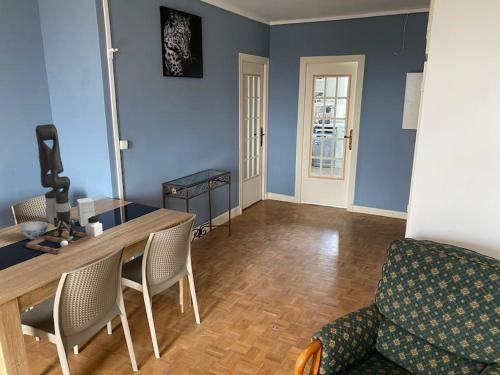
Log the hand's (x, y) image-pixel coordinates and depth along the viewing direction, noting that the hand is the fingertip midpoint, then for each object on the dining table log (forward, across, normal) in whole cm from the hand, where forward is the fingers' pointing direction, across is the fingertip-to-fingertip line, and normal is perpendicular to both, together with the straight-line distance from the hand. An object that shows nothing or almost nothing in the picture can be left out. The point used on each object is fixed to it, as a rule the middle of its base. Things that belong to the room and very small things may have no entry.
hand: (65, 234), depth 229 cm
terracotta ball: (+2, 0, 0) cm, 2 cm away
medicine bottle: (+3, +11, +12) cm, 16 cm away
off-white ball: (+2, +10, -10) cm, 14 cm away
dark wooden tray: (+2, +2, -6) cm, 7 cm away
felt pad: (+2, 0, 0) cm, 2 cm away
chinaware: (+3, -18, -6) cm, 19 cm away
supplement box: (+3, -8, +26) cm, 27 cm away
